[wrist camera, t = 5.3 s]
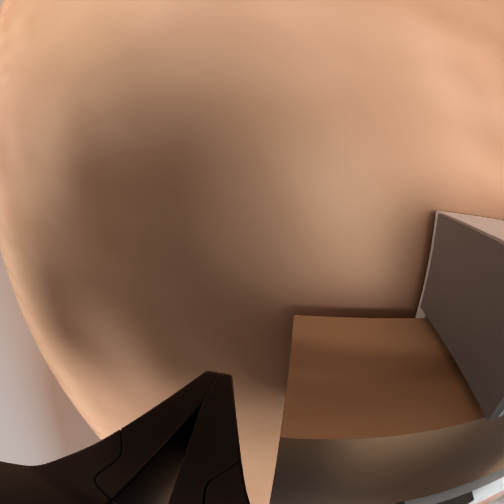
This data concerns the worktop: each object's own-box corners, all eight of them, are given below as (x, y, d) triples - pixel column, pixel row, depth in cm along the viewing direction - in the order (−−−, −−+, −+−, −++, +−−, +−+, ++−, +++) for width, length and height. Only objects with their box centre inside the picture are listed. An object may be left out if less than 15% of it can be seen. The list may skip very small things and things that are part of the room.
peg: (502, 389, 7) (534, 450, 3) (284, 409, 9) (268, 507, 5) (539, 310, 6) (594, 365, 2) (293, 314, 7) (280, 437, 4)
